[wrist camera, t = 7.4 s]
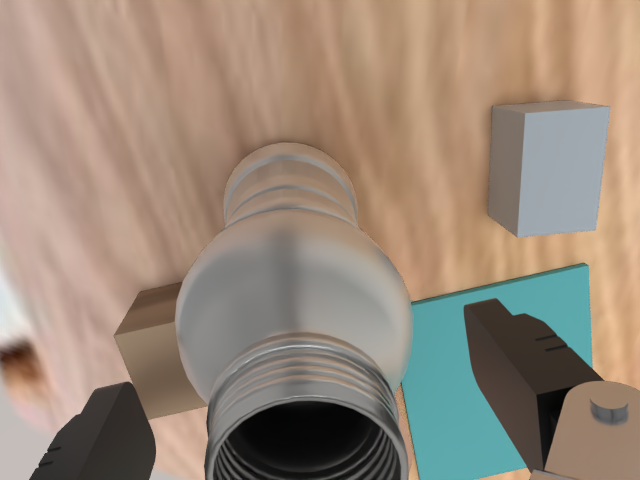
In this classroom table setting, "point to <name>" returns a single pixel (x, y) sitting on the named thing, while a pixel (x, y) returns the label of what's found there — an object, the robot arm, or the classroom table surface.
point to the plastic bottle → (296, 328)
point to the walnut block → (156, 354)
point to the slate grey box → (547, 166)
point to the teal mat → (458, 379)
